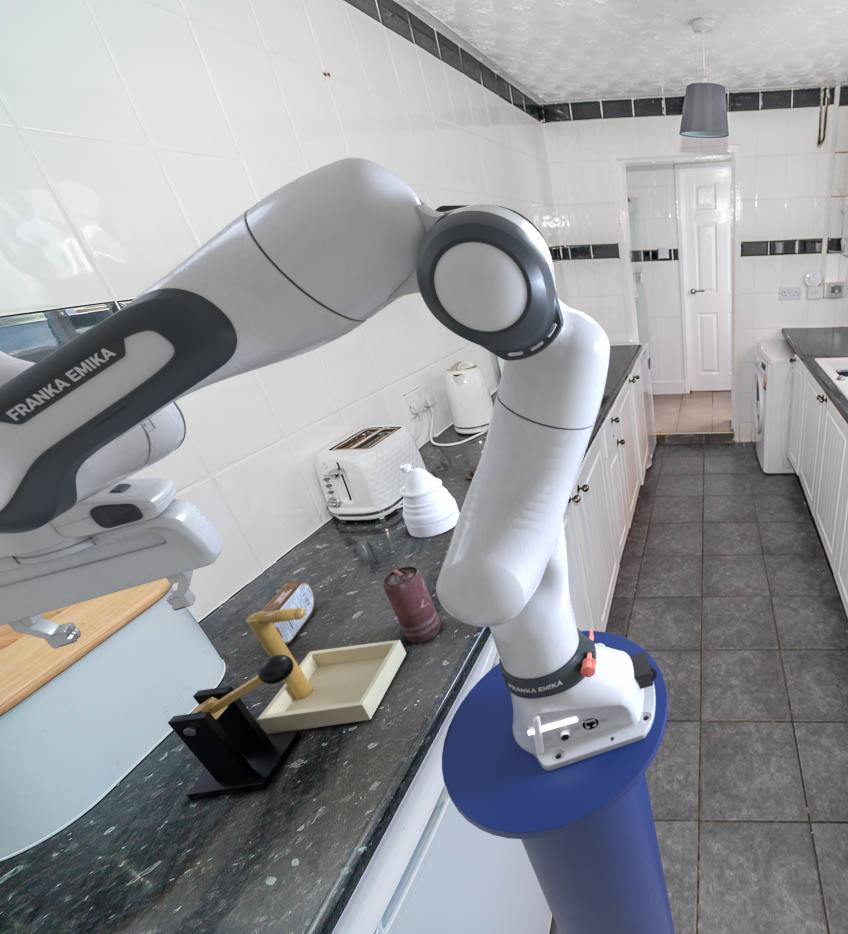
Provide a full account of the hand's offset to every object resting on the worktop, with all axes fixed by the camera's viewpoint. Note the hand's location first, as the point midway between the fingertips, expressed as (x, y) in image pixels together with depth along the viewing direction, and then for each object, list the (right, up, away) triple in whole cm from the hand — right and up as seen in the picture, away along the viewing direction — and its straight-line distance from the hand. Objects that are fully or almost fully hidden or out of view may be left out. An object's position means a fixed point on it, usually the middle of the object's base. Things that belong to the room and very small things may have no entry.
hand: (129, 623), depth 53 cm
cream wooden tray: (+2, -21, +30) cm, 36 cm away
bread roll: (-6, +15, +104) cm, 105 cm away
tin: (-18, -15, +44) cm, 50 cm away
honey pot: (-9, +2, +77) cm, 78 cm away
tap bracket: (-4, -27, +18) cm, 33 cm away
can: (+9, -15, +41) cm, 45 cm away
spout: (-1, -21, +29) cm, 36 cm away
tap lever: (+2, -14, +13) cm, 19 cm away
